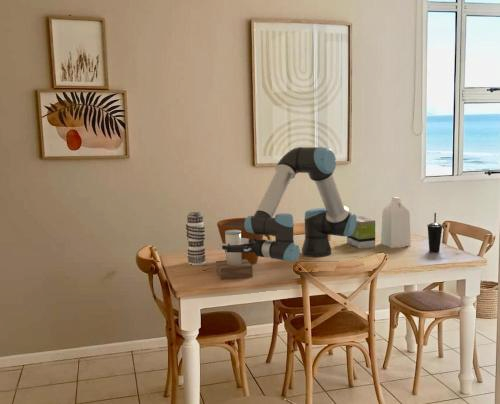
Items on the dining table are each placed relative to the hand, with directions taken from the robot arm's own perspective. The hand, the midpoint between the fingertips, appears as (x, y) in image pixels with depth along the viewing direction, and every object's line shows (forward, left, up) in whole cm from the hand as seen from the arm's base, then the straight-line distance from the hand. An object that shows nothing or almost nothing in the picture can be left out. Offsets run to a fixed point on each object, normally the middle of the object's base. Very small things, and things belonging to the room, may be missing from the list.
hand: (228, 243), depth 253 cm
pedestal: (+2, +2, -14) cm, 14 cm away
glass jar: (+2, +2, -9) cm, 10 cm away
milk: (-31, +97, -14) cm, 103 cm away
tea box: (-36, +79, -14) cm, 88 cm away
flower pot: (-19, +10, -14) cm, 26 cm away
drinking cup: (-10, +108, -14) cm, 109 cm away
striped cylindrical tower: (-24, -12, -14) cm, 30 cm away
